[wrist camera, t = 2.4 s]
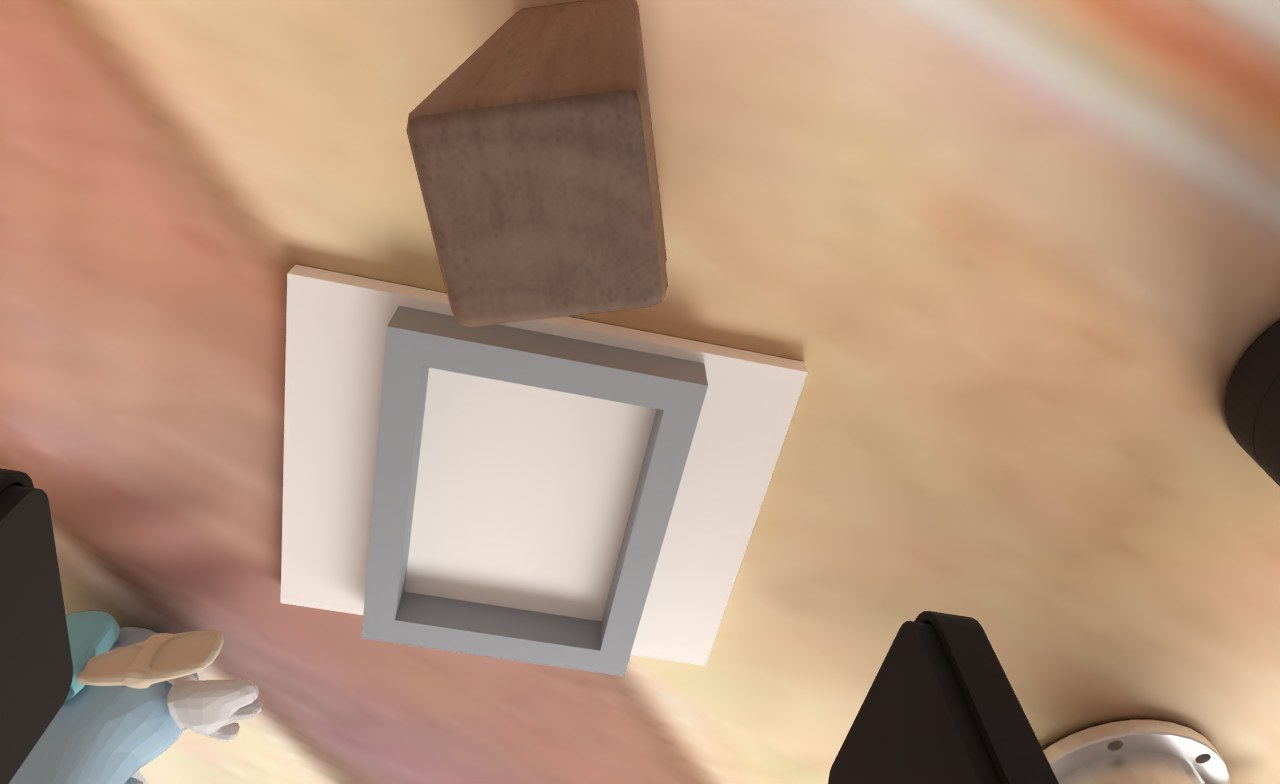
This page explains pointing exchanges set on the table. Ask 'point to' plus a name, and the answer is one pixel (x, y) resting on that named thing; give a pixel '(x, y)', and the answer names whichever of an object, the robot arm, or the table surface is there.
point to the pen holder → (1258, 402)
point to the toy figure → (133, 702)
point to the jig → (519, 476)
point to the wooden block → (545, 169)
